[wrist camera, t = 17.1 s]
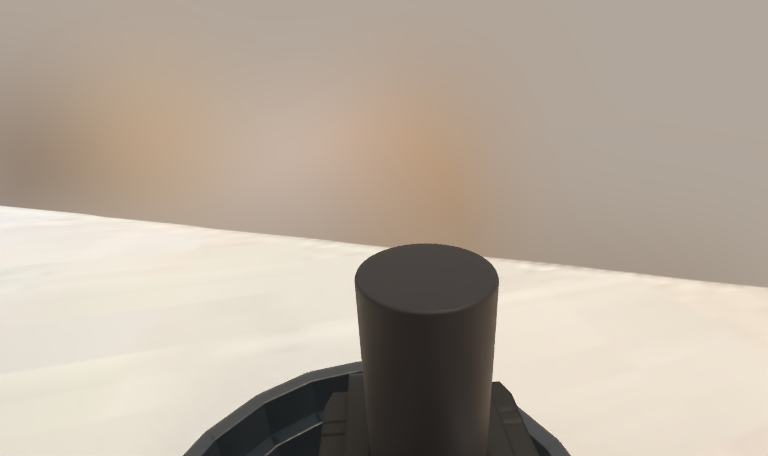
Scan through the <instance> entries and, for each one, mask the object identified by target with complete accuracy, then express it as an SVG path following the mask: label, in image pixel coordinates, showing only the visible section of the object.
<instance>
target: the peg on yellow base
mask: <svg viewBox="0 0 768 456" xmlns="http://www.w3.org/2000/svg"><path fill="white" fill-rule="evenodd" d="M498 287H499V277H498V275H497V272H496V270H495V268H494V267H493V265H492V264H491V263H490V262H489V261H487V260H486V259H485V258H483V257H481V256H480V255H478V254H476V253H474V252H471V251H469V250H466V249H462V248H458V247H454V246H448V245H441V244H411V245H403V246H398V247H394V248H390V249H387V250H384V251H381V252H379V253H377V254H375V255H373V256H371V257H369V258H368V259H367V260H365V261H364V262H363V263H362V264H361V265H360V267H359V268H358V270H357V272H356V275H355V291H356V302H357V313H358V324H359V335H360V346H361V358H362V369H363V380H364V391H365V402H366V413H367V424H368V435H369V446H370V456H487V445H488V430H489V416H490V402H491V387H492V373H493V359H494V344H495V330H496V316H497V302H498Z"/></svg>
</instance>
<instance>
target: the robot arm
mask: <svg viewBox="0 0 768 456" xmlns="http://www.w3.org/2000/svg"><path fill="white" fill-rule="evenodd" d="M319 456H370V446H369V435H368V424H367V413H366V402H365V391H364V380H363V373H360V374H349V383H348V392H335V393H333V394H332V396H331V397H330V399H329V401H328V402H327V404H326V406H325V411H324V419H323V426H322V437H321V442H320V450H319ZM487 456H539V454H538V452H537V450H536V447H535V445H534V443H533V441H532V439H531V436H530V434H529V432H528V430H527V427H526V425H525V423H524V422H523V418H522V416H521V414H520V412H519V411H518V407H517V405H516V403H515V401H514V398H513V396H512V394H511V393H510V392H509V391H508V390H507V389H506V388H505V387H504V386H503V385H502V384H501V383H500V382H492V387H491V402H490V416H489V430H488V445H487Z"/></svg>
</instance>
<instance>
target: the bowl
mask: <svg viewBox="0 0 768 456" xmlns="http://www.w3.org/2000/svg"><path fill="white" fill-rule="evenodd" d="M360 373H363V369H362V361H359V362H354V363H349V364H344V365H339V366H335V367H330V368H325V369H321V370H316V371H311V372H309V373H308V372H307V373H305V374H303V375H301V376H298V377H296V378H294V379H292V380H289V381H287V382H285V383H283V384H280V385H278V386H276V387H274V388H271V389H269V390H267V391H265V392H262V393H260V394H258V395H256V396H255V397H253V398H252V399H251V400H249V401H248V402H246V403H245V404H244V405H242V406H241V407H239V408H238V409H237V410H235V411H234V412H232V413H231V414H230V415H228V416H227V417H225V418H224V419H223V420H221V421H220V422H218V423H217V424H216V425H214V426H213V427H211V428H210V429H209V430H207V431H206V432H205V433H204V434H203V435H202V436H201V437H200V438H199V439H198V440H197V441H196V442H195V443H194V444H193V445H192V447H191V448H190V449H189V450H188V451H187V452H186V453H185V454H184V455H183V456H319V450H320V442H321V437H322V426H323V419H324V411H325V406H326V404H327V402H328V401H329V399H330V397H331V396H332V394H333V393H335V392H348V383H349V374H360ZM517 407H518V406H517ZM518 411H519V412H520V414H521V416H522V418H523V422H524V423H525V425H526V427H527V430H528V432H529V434H530V436H531V439H532V441H533V443H534V445H535V447H536V450H537V452H538V454H539V456H571V455H570V454H569V453H568V451H567V450H566V449H565V448H564V446H563V445H562V444H561V442H559V440H558V439H557V438H555V437H554V436H553V435H552V434H551V433H549V432H548V431H547V430H546V429H545V428H543V427H542V426H541V425H540V424H538V423H537V422H536V421H535V420H534V419H532V418H531V417H530V416H529V415H528V414H526V413H525V412H524V411H523V410H521V409H520V408H519V407H518Z"/></svg>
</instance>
